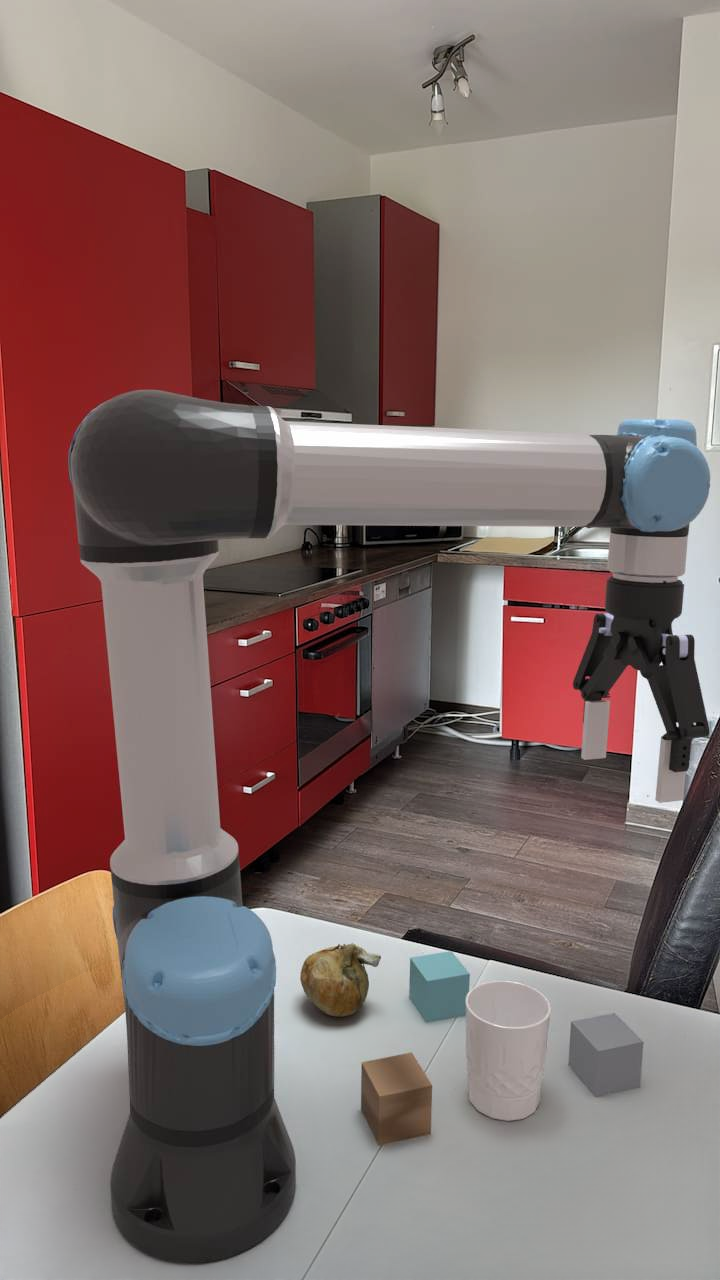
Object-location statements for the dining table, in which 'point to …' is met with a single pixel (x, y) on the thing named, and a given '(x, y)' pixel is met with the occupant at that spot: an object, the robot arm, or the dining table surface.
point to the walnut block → (396, 1098)
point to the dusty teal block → (438, 986)
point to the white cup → (506, 1048)
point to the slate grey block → (605, 1054)
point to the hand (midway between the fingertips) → (628, 778)
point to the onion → (338, 978)
